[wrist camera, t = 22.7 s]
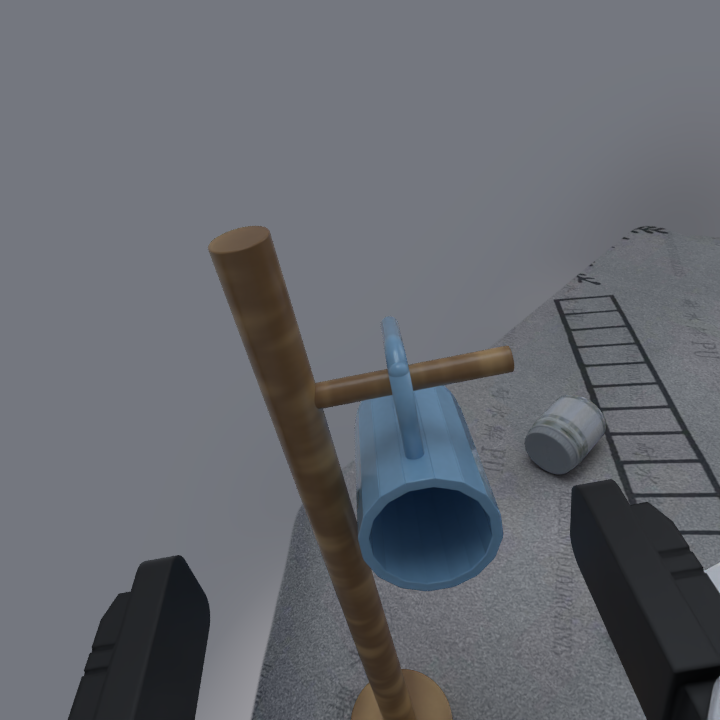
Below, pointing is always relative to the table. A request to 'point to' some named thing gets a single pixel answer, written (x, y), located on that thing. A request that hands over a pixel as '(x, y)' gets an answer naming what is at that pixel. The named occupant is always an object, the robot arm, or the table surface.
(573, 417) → the camera lens
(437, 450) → the mug
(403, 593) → the table surface
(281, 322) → the stand
